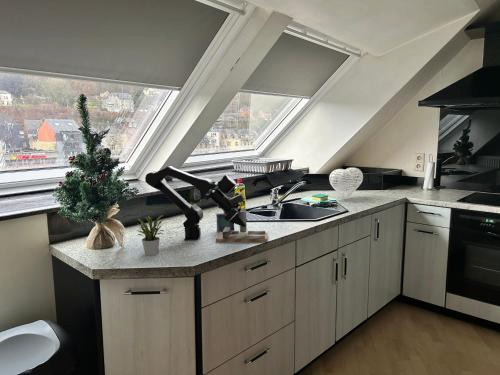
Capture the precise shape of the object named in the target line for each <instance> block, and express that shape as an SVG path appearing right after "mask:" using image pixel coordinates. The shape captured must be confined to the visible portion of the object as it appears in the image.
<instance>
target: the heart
mask: <svg viewBox="0 0 500 375" xmlns="http://www.w3.org/2000/svg"><path fill="white" fill-rule="evenodd" d="M363 174H364V173H363V172H362V171H361V169H360V168H357V167H347V168H346V169H343V168H338V169H337V168H336V169H334V170H332V172H331V173H330V174H329V184H330V185H331V187H332V188H333V189H334V190H335V192H337V193H338V195H339V196H340V197H341V198H342V199H343V200H348V199H350V197H351V196H352V195H353V194H354V192H356V190H357V189H358V188H359V187H360V185H362V182H363V180H364V175H363Z"/></svg>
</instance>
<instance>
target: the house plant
mask: <svg viewBox="0 0 500 375" xmlns="http://www.w3.org/2000/svg"><path fill="white" fill-rule="evenodd" d="M161 217H164V214H163V215H160V216H158V217H157V218H156V219H155V220H154V222H153V220H152V217H150V216H149V215H148V216H147V218H146V220H147V222H148V225H147V224H146V223H145V222H144V221H143V220H141V219H140V218H137V220H138V221H139V222H140V223H141V224H139V223H138V225H139V226H140V229H141V230H136V232H139V233H137V236H142V237H143V238H142V239H141V242H142V246H143V251H144V254H145V256H155V255H157V254H158V253H159V248H160V247H159V246H160V237H159V236H156V235H164V234H163V232H165V230H164V229H161V227H162V225H160V224H161V223H162V222H164V221H165V220H166V218H164V219H161V220H160V218H161ZM148 226H149V228H148Z"/></svg>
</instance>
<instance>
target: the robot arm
mask: <svg viewBox="0 0 500 375" xmlns="http://www.w3.org/2000/svg"><path fill="white" fill-rule="evenodd" d="M167 177H171V178H174V179H175V180H180V181H182V182H183V183H187V184H189V185H191V186H193V187H194V188H195V189H197V190H198V191H200V192H201V193H204V195H205V196H204V197H205V201H206V202H208V201H209V200H210V199H211V201H212V202H213V203H214V204H215V205H217V207H218V209H220V210H222V211H224V212H225V214H226V215H225V220H226V221H227V222H228V221H229V222H231V223H234V225H238V226H239V227H240V226H243V227H245V226H246V224H247V222H248V219H247V218H246V224H245V223H244V222H243V220H242V219H241V218H240V211H242V204H241V203H242V202H245V197H244V195H243V193H242V192H235V193H234V196H233V197H230V196H227V195H226V194H229V193H230V192H231V191H232V190H233V189H234V188H235V187H236V186H237V185H238V184H237V182H236V180H234V179H233V178H232V177H230V176H228V175H227V174H224V176H222V178H221V179H220V180H219V181H213V180H212V179H211V178H207V177H203V176H202V177H201V176H197V175H193V174H190V173H189V172H186V171H182V170H181V169H178V168H176V167H174V166H170V165H169V166H166V167H164V168H162V169H160V170H158V171H152V172H151V171H150V172H148V173H146V174H145V177H144V180H145V183H146V184H147V185H148V186H150V187H151V188H153V189H155V190H159V192H161V193H162V194H164V196H165V197H166V198H168V200H170V201H171V202H172V203H173V204H174V205H175V206H176V207H177V208H179V209H180V210H181V211H182V213H183V215H184V217H185V218H186V219H185V220H184V222H182V225H183V228H184V236H185V237H184V238H183V239H184V241H198V240H199V239H200V238H201V237H202V235H201V234H202V231H201V227H200V222H201V221H202V220H203V218H204V212H203V211H202V210H203V209H202V208H200V207H199V206H198V205H197V204H196V203H194V204H191V203H189V202H188V201H187V200H185V198H183V197H182V196H181V194H179V193H178V192H177V191H176V190H175V189H173V188H172V187H171V186H170V185H169V184H168V183H167V180H166V178H167ZM224 212H223V213H224Z"/></svg>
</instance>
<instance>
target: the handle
mask: <svg viewBox="0 0 500 375" xmlns="http://www.w3.org/2000/svg"><path fill="white" fill-rule="evenodd" d="M240 218H241V219H242V220H243V222H244V223H245V224H246V226H245V227H243V226H240V225H239V230H238V231H239V233H238V235H248V231H249V229H248V228H247V222H246V219H247V210H241V211H240Z"/></svg>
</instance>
